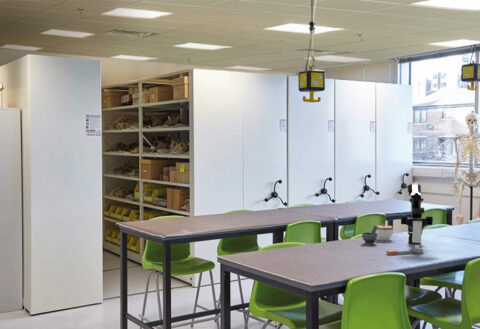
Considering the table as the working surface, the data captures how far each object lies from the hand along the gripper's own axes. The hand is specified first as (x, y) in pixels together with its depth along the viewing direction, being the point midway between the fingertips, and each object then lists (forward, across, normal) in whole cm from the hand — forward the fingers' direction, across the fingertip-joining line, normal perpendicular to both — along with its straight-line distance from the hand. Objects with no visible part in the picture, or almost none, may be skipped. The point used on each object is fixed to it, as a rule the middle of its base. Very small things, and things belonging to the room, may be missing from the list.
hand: (417, 231), depth 360 cm
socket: (+4, 0, +6) cm, 7 cm away
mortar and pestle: (-11, -28, +30) cm, 43 cm away
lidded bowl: (-24, -20, +43) cm, 53 cm away
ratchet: (+11, -7, +8) cm, 15 cm away
